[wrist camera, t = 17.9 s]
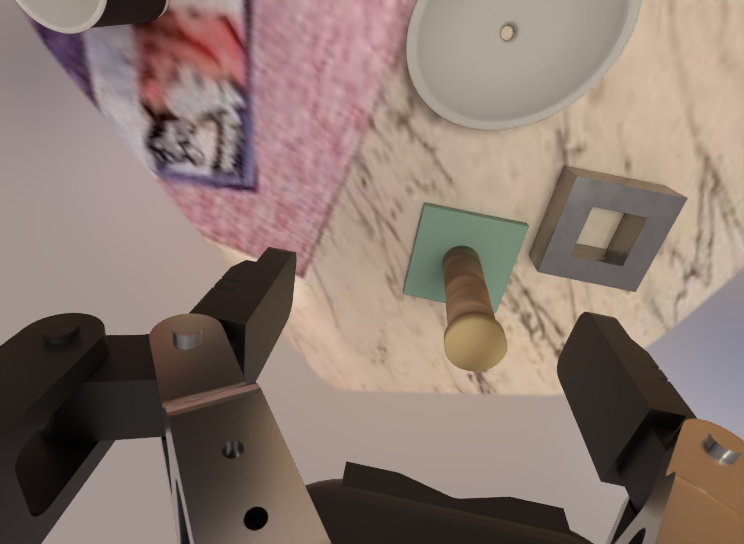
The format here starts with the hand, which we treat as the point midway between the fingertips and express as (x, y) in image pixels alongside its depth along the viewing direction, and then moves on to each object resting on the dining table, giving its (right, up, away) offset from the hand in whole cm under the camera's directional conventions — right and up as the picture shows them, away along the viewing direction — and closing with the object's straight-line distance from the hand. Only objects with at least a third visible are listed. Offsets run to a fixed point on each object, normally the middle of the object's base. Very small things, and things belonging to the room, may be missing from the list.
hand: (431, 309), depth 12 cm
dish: (+10, +22, +25) cm, 35 cm away
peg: (+8, +2, +34) cm, 35 cm away
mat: (+8, +3, +35) cm, 36 cm away
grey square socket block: (+21, +6, +32) cm, 39 cm away
